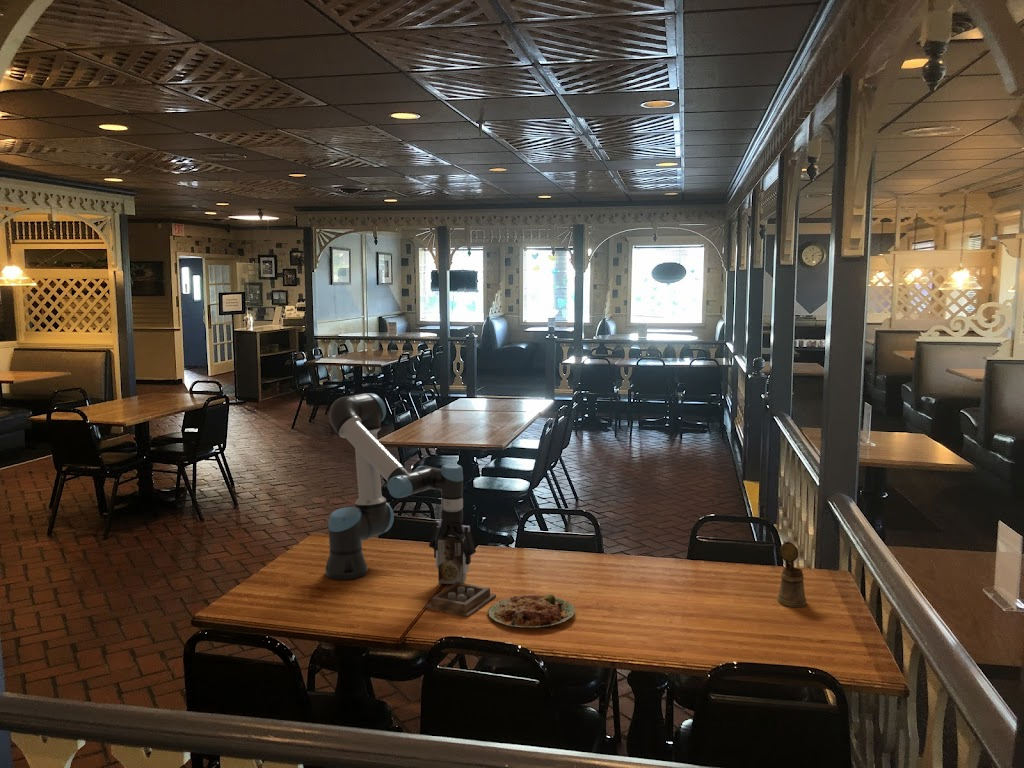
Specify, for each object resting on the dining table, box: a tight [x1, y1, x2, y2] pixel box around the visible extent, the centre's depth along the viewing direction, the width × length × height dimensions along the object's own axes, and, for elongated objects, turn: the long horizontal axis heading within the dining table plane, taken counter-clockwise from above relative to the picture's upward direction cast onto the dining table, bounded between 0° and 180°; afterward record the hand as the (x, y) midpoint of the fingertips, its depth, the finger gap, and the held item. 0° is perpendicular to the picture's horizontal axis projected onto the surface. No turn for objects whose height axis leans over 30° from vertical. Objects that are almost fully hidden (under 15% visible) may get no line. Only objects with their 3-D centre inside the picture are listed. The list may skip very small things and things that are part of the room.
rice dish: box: [487, 594, 576, 628], centre depth 252 cm, size 28×28×5 cm
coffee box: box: [437, 534, 467, 585], centre depth 278 cm, size 9×6×16 cm
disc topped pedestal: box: [777, 540, 808, 608], centre depth 262 cm, size 9×14×18 cm, turn 172°
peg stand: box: [424, 582, 497, 618], centre depth 262 cm, size 16×19×4 cm
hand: (452, 570), depth 278 cm, fingers closed on coffee box, 10 cm apart
